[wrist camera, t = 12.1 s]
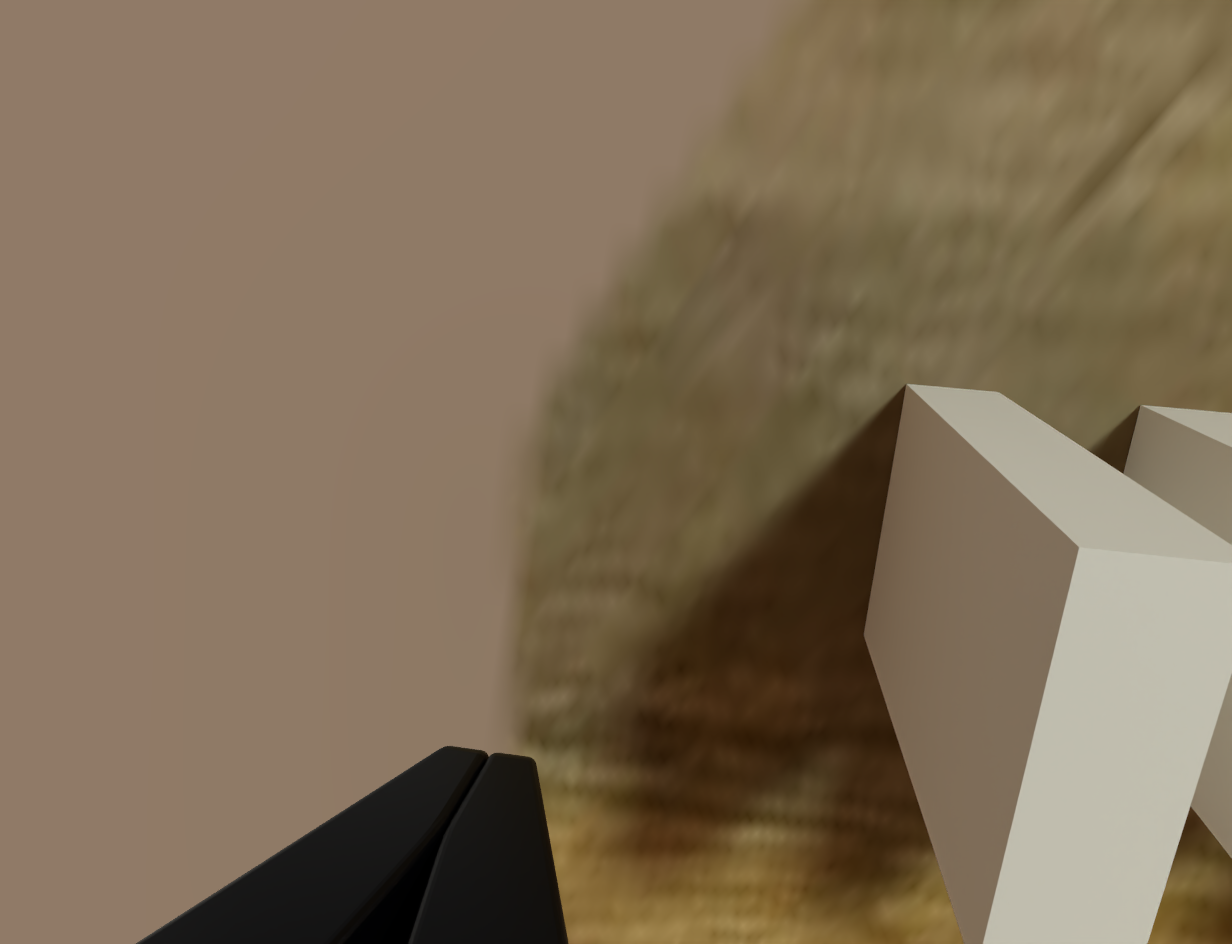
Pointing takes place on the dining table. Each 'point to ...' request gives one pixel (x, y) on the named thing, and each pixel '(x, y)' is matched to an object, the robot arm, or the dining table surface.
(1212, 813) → the domino
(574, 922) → the dining table surface
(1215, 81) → the dining table surface
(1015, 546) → the domino
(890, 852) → the dining table surface
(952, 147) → the dining table surface
